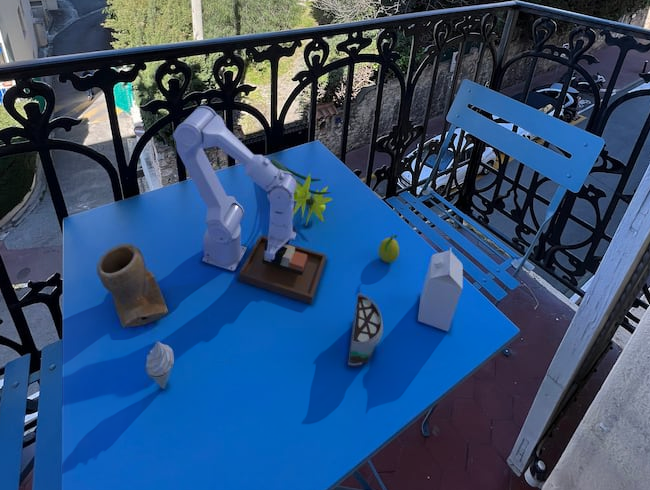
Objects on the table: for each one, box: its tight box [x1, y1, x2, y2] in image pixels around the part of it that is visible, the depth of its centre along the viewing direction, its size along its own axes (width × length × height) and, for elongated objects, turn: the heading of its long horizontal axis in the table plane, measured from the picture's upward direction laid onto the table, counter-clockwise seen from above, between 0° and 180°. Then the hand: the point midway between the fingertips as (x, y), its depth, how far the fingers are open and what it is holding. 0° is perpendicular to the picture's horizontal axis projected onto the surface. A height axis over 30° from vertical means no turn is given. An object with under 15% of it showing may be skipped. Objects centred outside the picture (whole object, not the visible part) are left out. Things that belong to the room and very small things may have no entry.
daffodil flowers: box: [270, 158, 333, 227], centre depth 127 cm, size 17×15×35 cm
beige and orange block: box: [262, 244, 307, 275], centre depth 105 cm, size 11×4×4 cm, turn 74°
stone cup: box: [96, 243, 168, 328], centre depth 92 cm, size 15×12×15 cm
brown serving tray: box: [238, 234, 327, 305], centre depth 107 cm, size 20×14×2 cm
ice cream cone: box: [145, 340, 175, 390], centre depth 77 cm, size 5×5×15 cm
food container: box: [347, 292, 384, 368], centre depth 88 cm, size 12×6×10 cm, turn 168°
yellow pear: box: [378, 232, 400, 263], centre depth 110 cm, size 7×6×10 cm
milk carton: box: [417, 247, 464, 332], centre depth 95 cm, size 7×7×19 cm
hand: (279, 257), depth 106 cm, fingers closed on beige and orange block, 4 cm apart
